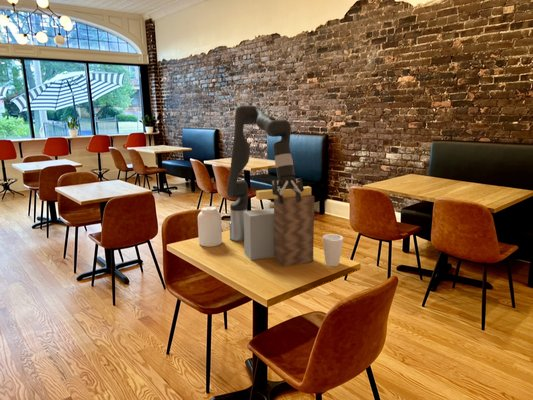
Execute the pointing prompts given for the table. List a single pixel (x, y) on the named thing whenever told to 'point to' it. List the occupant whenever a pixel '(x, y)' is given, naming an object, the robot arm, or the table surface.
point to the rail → (286, 193)
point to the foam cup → (332, 249)
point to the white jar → (209, 227)
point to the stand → (294, 230)
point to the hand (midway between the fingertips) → (290, 203)
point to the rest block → (259, 233)
